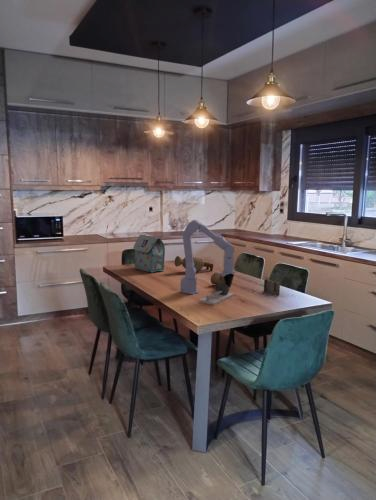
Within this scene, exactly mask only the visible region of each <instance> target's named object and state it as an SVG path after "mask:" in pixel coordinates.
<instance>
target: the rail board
mask: <svg viewBox="0 0 376 500" xmlns="http://www.w3.org/2000/svg"><path fill="white" fill-rule="evenodd" d="M222 292H223V290H220V291H218V292H217V291H216V292H213V293H211V294H209V295H208V294H207V295H206V296H205V297H202V298H200V299H198V300H199V301H198V302H199V303H202V304H208V305H212V306H215V305H217V304H220V303H222V302H224V301H226V300H228V299H231V298H232V297H234V296H235V293H234V292H229V291H228V294H227V295H224V294H220V293H222Z"/></svg>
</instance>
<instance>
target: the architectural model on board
mask: <svg viewBox="0 0 376 500" xmlns="http://www.w3.org/2000/svg"><path fill="white" fill-rule="evenodd" d="M280 287H281V282H278V281H275V280H272V279H269V278H268V276H264V279H263V291H264V292H267V293H269V294H272V295H275V296H279V295H280V293H281V292H280V289H281V288H280ZM265 290H266V291H265Z"/></svg>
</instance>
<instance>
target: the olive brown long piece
mask: <svg viewBox="0 0 376 500" xmlns="http://www.w3.org/2000/svg"><path fill="white" fill-rule="evenodd" d="M193 262H194V266H195V268H196V272H197V271H201V270H202V269H203V268H204V267H205V268H206V271H207V270H208V271H210V272H213V269H214V263H210V262H207V261H204V260H203V257H195V256H193ZM181 265H182V267H183V268H184V269H185V270H186V260H185V257H184V258H181V257H180V255H177V256H175V259H174V266H175V268H176V267H180V266H181Z"/></svg>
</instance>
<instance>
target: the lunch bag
mask: <svg viewBox="0 0 376 500" xmlns="http://www.w3.org/2000/svg"><path fill="white" fill-rule="evenodd" d="M133 250H134V269H136V270H138V269H139V271H143V272H147V273H155V272H164V271H165V254H166V251H165V250H166V248H165V244H164V241H163V240H162V238H161V237H156V236H152V235H147V234H140V235H138V237H137V239H136V241H135V243H134V244H133Z"/></svg>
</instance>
